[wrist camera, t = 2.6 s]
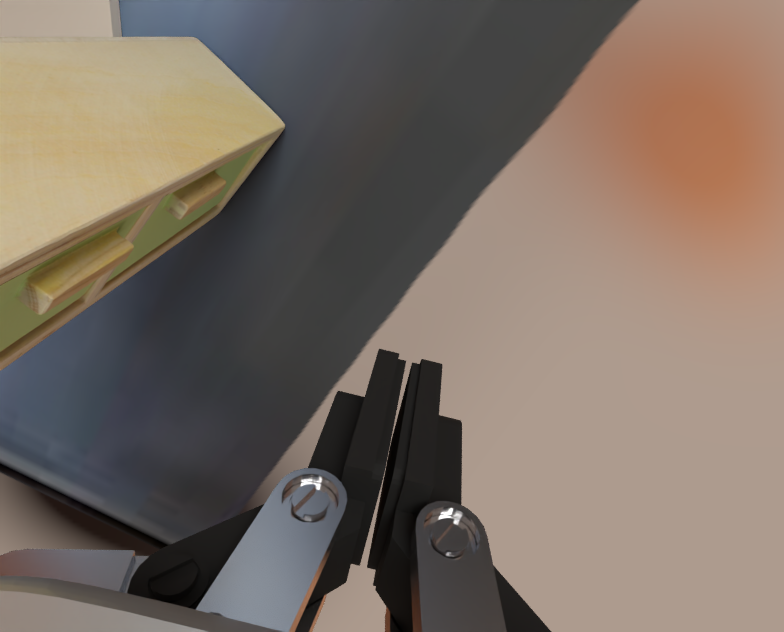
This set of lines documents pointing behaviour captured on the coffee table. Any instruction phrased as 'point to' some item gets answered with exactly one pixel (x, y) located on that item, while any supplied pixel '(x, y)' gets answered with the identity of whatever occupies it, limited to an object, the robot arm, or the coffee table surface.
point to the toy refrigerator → (110, 166)
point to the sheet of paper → (60, 18)
